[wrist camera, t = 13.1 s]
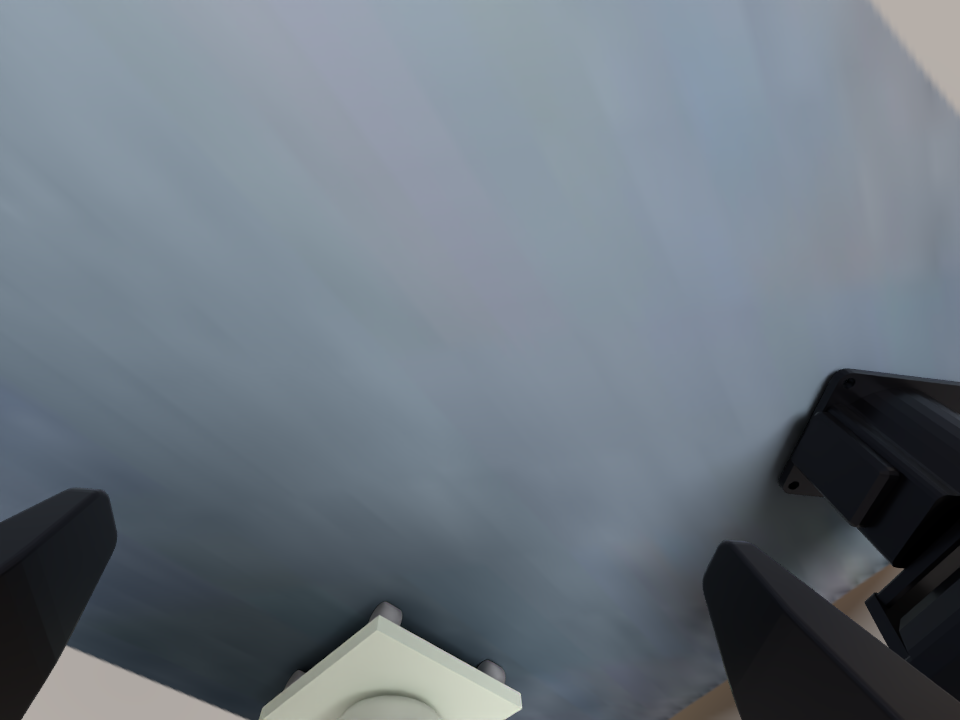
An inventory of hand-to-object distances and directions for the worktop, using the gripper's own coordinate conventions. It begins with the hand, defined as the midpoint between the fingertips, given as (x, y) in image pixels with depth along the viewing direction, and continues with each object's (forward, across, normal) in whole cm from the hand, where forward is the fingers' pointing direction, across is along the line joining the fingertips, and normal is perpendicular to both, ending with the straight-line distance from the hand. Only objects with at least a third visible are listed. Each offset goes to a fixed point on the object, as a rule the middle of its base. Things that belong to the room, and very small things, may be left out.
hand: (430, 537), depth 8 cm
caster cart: (+13, 0, +24) cm, 27 cm away
